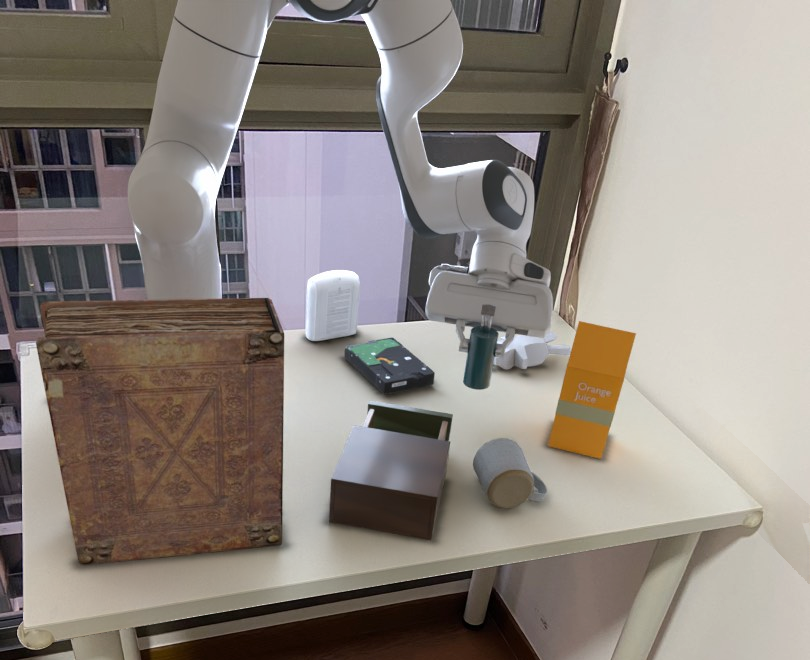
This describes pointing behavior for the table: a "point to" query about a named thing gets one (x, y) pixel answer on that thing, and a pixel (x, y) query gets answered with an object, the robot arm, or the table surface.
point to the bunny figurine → (529, 351)
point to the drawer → (408, 420)
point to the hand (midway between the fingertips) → (481, 353)
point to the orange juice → (591, 389)
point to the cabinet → (389, 482)
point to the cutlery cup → (481, 352)
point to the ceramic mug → (506, 474)
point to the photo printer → (332, 305)
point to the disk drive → (389, 365)
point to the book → (166, 423)
